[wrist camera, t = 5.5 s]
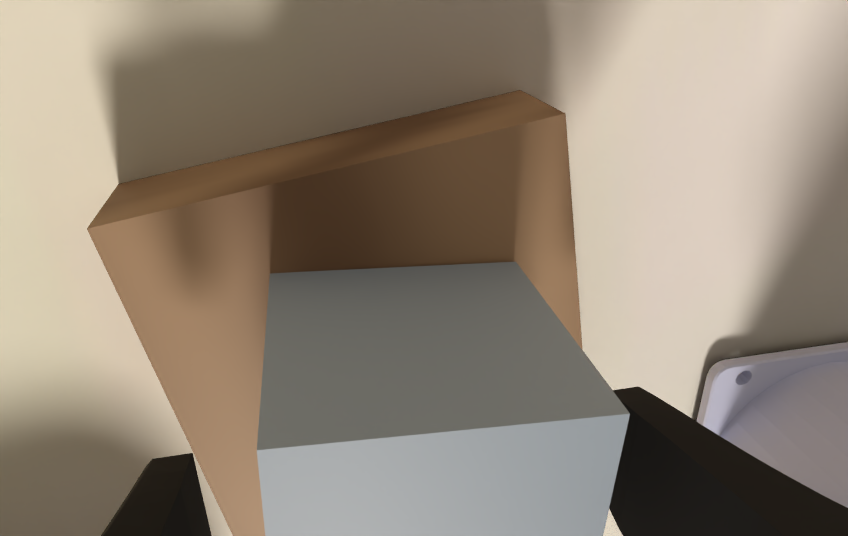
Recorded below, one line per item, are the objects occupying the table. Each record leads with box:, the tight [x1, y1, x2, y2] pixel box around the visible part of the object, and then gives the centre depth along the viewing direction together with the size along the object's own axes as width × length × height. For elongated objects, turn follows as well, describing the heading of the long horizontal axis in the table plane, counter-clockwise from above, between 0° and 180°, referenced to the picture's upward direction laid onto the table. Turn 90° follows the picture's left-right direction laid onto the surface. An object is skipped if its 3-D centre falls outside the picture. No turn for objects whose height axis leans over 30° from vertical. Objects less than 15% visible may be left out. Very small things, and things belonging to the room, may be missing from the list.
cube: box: [257, 262, 630, 536], centre depth 11 cm, size 5×5×5 cm
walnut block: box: [87, 90, 582, 536], centre depth 15 cm, size 9×9×3 cm
